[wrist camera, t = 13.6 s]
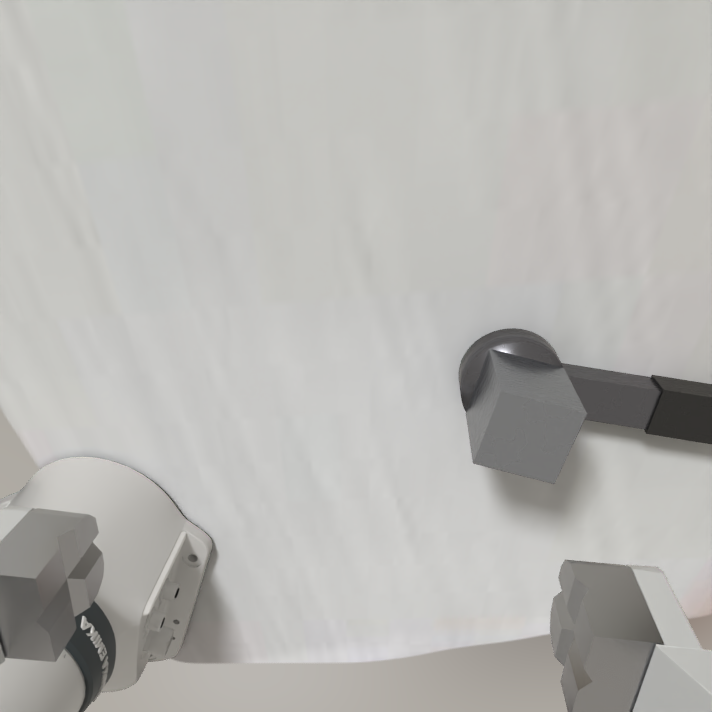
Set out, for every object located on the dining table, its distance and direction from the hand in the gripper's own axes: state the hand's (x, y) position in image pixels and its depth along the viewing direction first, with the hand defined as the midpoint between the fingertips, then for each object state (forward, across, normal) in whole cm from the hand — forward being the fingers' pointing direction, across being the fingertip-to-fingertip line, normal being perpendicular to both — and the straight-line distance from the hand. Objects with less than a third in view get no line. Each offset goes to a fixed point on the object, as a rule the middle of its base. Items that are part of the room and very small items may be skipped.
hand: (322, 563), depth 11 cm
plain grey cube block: (+29, -9, +11) cm, 32 cm away
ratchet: (+31, -15, +11) cm, 36 cm away
